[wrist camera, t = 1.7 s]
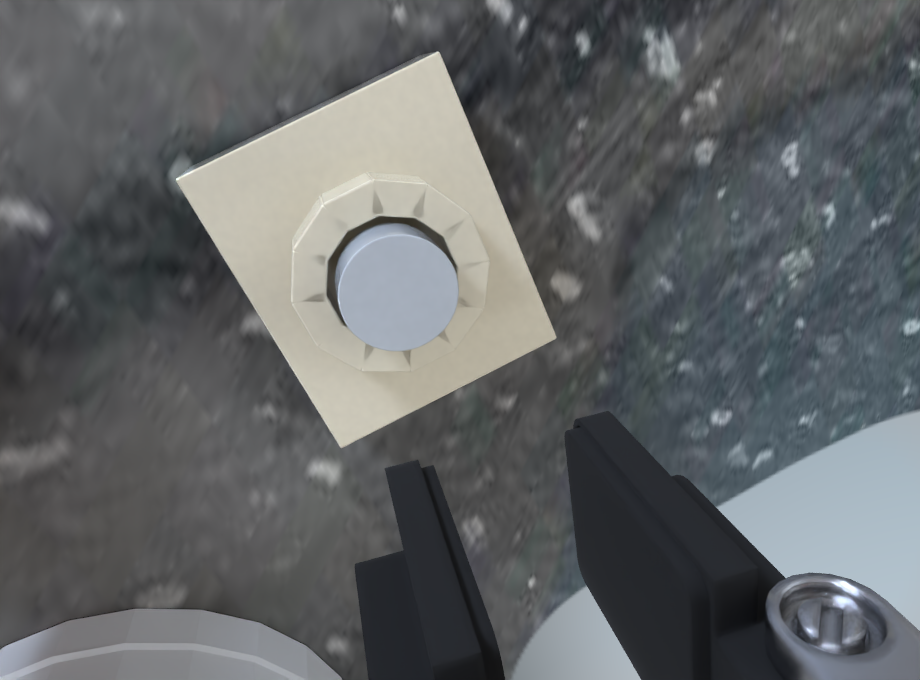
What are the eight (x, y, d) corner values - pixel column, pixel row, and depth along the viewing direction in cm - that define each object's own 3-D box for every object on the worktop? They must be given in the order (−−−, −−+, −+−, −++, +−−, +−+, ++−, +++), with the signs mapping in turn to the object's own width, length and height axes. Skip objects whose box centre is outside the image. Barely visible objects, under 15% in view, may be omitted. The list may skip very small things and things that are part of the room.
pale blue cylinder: (313, 254, 23) (315, 269, 22) (418, 202, 24) (429, 213, 22) (366, 350, 25) (372, 371, 23) (463, 300, 25) (477, 318, 23)
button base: (186, 168, 26) (164, 188, 21) (424, 53, 26) (452, 48, 22) (336, 416, 31) (344, 475, 26) (534, 315, 31) (575, 356, 27)
